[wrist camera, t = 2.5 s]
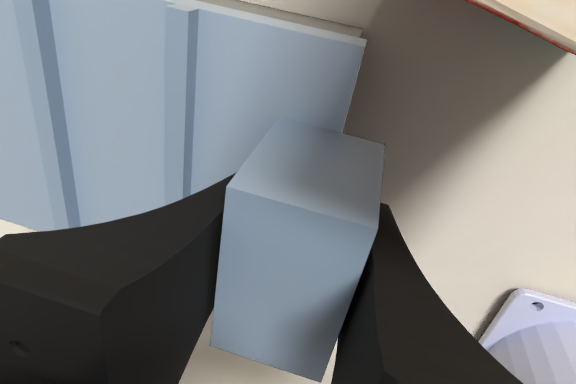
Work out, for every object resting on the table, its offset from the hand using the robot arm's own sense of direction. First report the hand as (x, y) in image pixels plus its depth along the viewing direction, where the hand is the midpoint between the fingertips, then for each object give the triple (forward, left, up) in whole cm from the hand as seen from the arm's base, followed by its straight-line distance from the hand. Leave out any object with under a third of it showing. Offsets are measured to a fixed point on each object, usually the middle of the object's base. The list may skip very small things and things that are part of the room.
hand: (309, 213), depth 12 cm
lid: (+7, 0, -2) cm, 7 cm away
